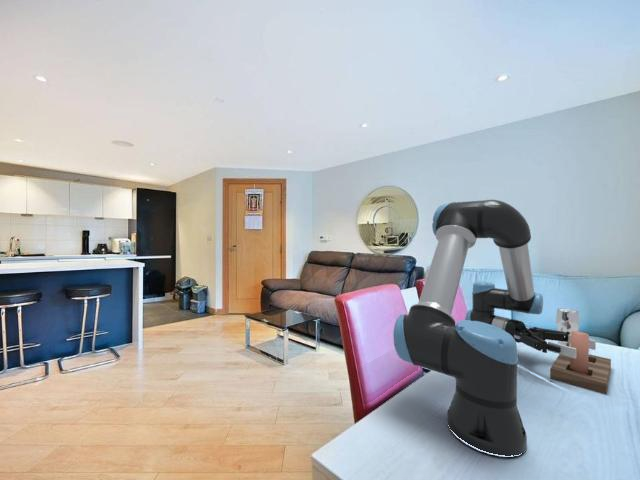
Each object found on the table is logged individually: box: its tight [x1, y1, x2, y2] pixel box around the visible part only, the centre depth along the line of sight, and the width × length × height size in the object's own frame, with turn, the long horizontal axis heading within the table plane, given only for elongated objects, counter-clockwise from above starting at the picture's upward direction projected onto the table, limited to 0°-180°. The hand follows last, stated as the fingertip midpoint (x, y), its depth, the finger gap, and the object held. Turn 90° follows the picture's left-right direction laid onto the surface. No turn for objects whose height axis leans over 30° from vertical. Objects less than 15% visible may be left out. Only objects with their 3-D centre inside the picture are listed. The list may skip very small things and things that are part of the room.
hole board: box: [549, 353, 612, 396], centre depth 89 cm, size 24×12×4 cm, turn 132°
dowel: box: [570, 330, 590, 375], centre depth 85 cm, size 4×4×14 cm
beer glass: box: [555, 308, 580, 347], centre depth 113 cm, size 7×7×15 cm
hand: (586, 349), depth 84 cm, fingers open, 13 cm apart
